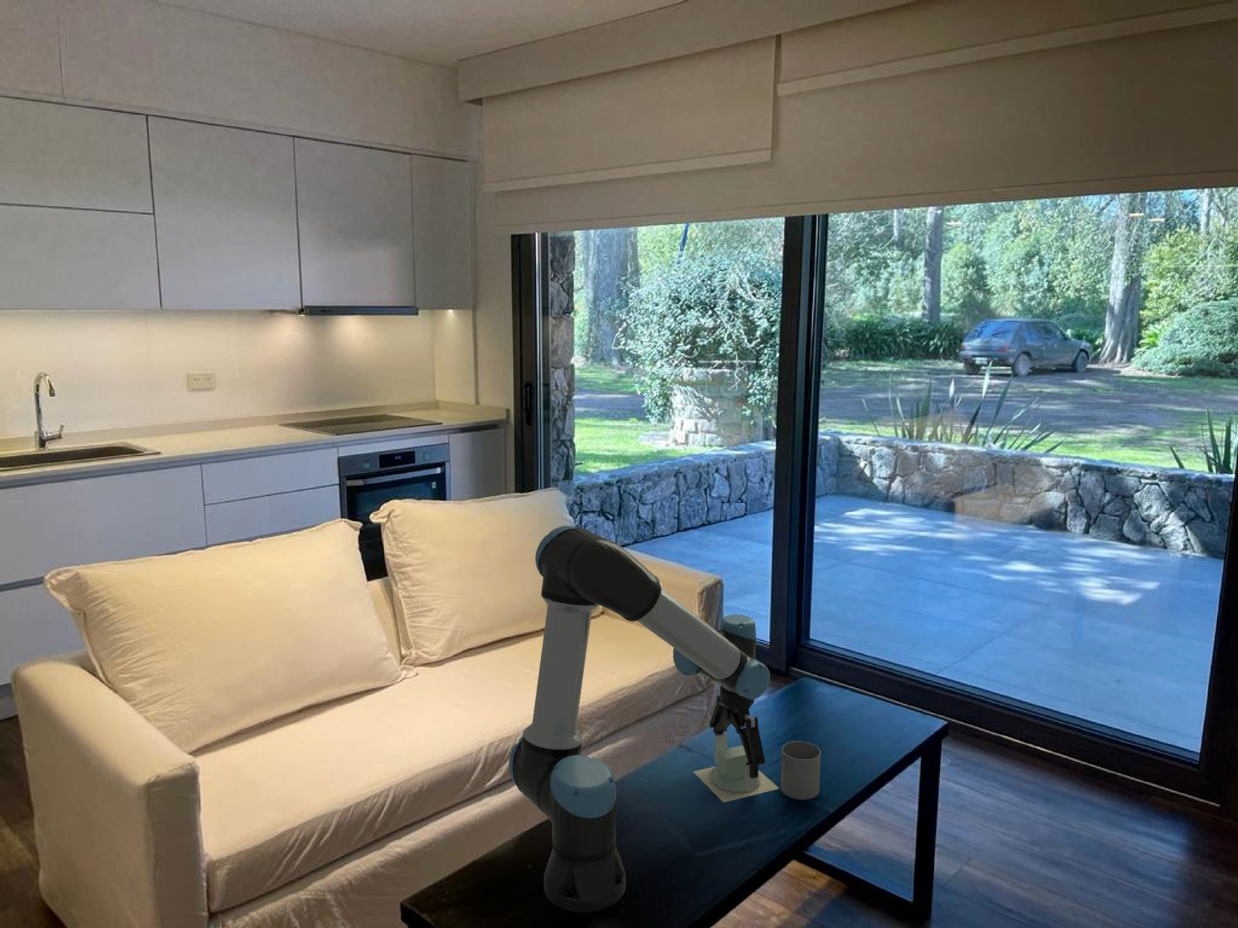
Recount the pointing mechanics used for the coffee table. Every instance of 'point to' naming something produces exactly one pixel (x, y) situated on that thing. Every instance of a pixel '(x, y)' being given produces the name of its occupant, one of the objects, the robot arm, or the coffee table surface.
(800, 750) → the cup
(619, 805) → the coffee table surface
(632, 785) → the coffee table surface
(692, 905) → the coffee table surface
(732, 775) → the lid
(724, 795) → the mat
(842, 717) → the coffee table surface
